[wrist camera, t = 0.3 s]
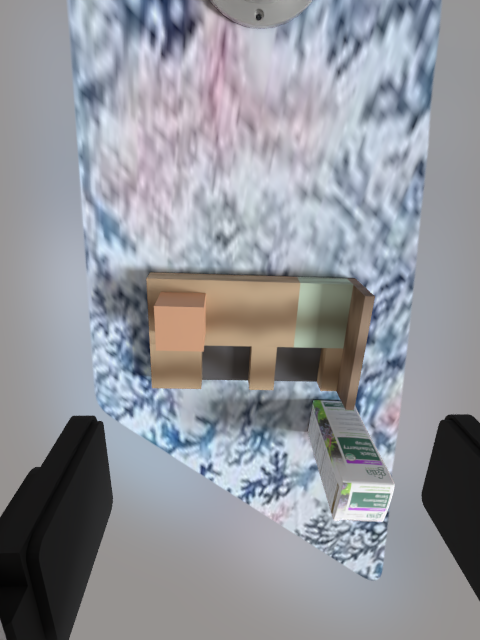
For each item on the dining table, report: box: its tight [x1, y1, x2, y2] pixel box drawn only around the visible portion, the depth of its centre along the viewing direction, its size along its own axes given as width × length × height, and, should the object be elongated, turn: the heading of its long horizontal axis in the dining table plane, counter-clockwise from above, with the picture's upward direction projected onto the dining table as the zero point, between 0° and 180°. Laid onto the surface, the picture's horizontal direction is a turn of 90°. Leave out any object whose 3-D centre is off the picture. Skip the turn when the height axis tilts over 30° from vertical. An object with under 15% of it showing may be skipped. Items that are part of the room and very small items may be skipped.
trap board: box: [146, 272, 375, 410], centre depth 45 cm, size 14×24×6 cm, turn 88°
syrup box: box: [308, 400, 395, 522], centre depth 47 cm, size 6×6×14 cm
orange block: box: [154, 292, 206, 352], centre depth 42 cm, size 5×5×4 cm
